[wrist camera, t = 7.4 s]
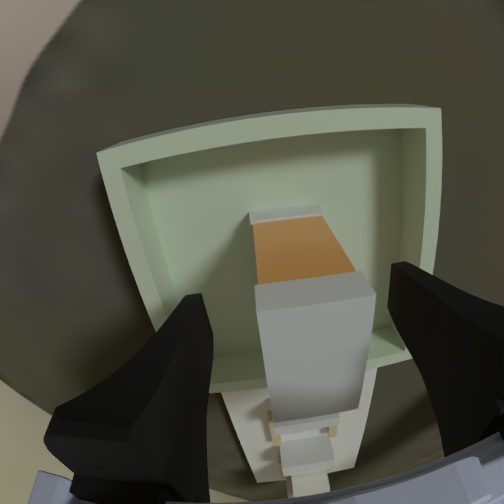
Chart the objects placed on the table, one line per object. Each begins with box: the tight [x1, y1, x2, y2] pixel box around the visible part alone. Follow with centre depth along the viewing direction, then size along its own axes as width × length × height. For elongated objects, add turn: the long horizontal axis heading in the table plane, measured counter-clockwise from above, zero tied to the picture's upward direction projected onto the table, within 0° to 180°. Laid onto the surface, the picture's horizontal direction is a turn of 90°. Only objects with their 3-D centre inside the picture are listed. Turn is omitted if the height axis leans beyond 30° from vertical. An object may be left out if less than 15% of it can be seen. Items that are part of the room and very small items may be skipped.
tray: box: [97, 104, 442, 393], centre depth 14 cm, size 13×13×3 cm
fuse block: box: [221, 368, 377, 498], centre depth 21 cm, size 10×18×4 cm, turn 8°
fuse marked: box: [249, 203, 376, 423], centre depth 12 cm, size 3×5×7 cm, turn 7°
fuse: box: [291, 470, 329, 497], centre depth 21 cm, size 3×5×7 cm, turn 9°
